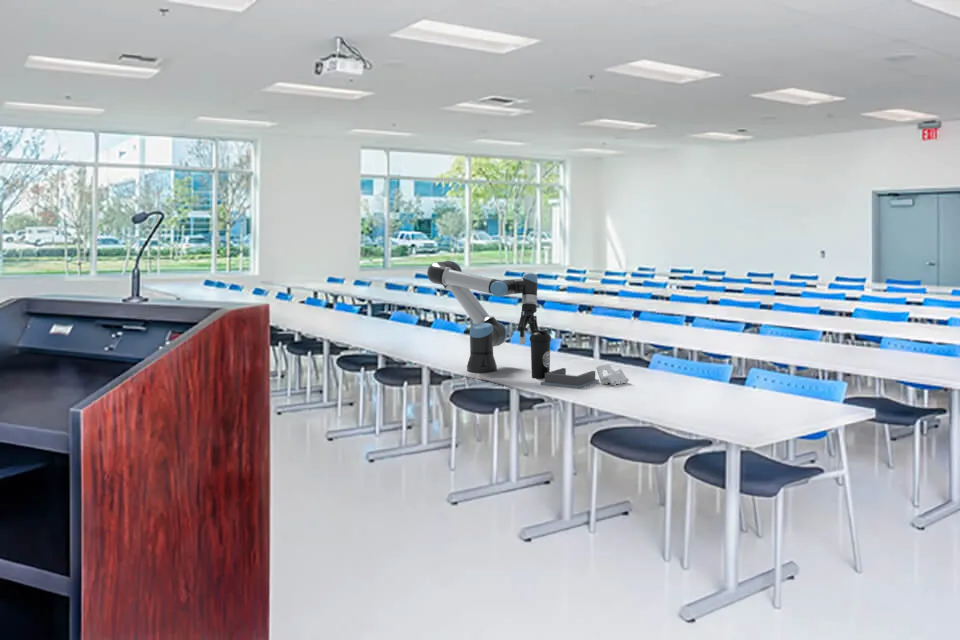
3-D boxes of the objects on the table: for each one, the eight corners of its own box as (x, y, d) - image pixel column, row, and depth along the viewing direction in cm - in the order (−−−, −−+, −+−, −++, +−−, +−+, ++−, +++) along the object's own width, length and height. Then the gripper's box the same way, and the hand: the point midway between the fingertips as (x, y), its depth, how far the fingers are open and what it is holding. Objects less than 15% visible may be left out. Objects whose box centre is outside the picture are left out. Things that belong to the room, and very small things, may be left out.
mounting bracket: (620, 385, 371) (613, 363, 374) (630, 382, 367) (622, 359, 369) (603, 389, 364) (595, 366, 366) (612, 385, 359) (605, 362, 361)
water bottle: (543, 380, 377) (543, 331, 375) (525, 377, 384) (525, 330, 381) (555, 376, 385) (555, 329, 383) (537, 374, 392) (537, 328, 389)
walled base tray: (540, 384, 366) (540, 373, 366) (561, 377, 383) (561, 367, 382) (579, 388, 355) (579, 377, 355) (599, 381, 372) (599, 371, 371)
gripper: (526, 298, 391) (524, 341, 387) (545, 308, 412) (544, 349, 408) (512, 299, 394) (510, 342, 390) (532, 309, 416) (531, 349, 412)
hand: (528, 346), depth 399 cm, fingers open, 13 cm apart
